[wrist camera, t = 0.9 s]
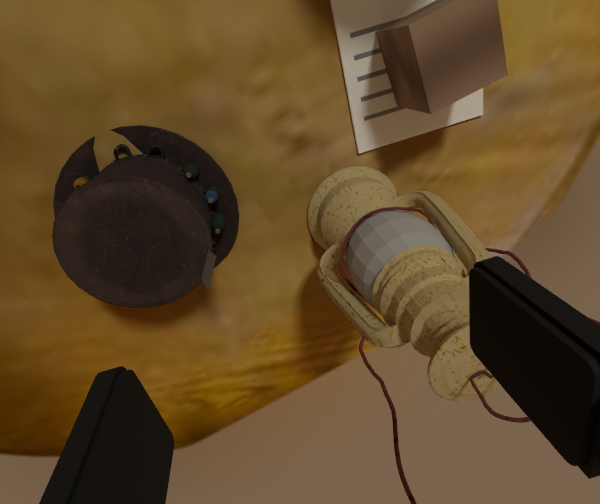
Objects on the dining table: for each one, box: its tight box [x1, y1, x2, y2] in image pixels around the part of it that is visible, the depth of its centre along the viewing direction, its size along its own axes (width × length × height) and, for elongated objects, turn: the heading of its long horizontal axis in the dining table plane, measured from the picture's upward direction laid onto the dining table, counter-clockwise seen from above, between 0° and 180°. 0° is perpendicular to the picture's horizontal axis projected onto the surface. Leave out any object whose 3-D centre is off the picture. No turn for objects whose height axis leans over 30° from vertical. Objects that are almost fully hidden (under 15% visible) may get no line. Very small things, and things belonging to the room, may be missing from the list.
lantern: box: [307, 166, 600, 504], centre depth 23 cm, size 12×10×30 cm
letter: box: [330, 0, 483, 154], centre depth 30 cm, size 14×12×1 cm
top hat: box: [52, 125, 239, 308], centre depth 28 cm, size 15×15×10 cm
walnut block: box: [375, 0, 508, 114], centre depth 27 cm, size 6×6×6 cm
